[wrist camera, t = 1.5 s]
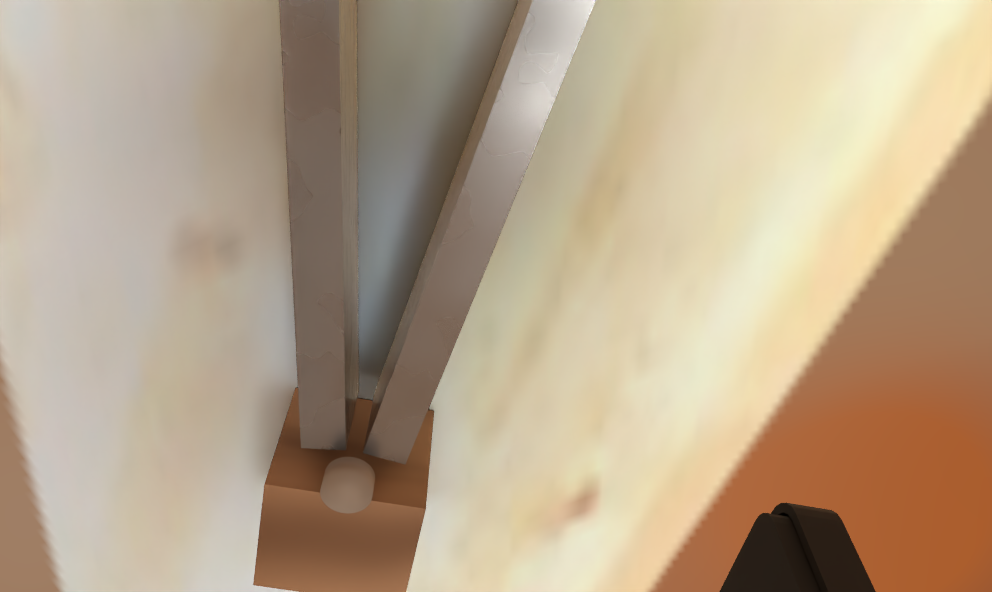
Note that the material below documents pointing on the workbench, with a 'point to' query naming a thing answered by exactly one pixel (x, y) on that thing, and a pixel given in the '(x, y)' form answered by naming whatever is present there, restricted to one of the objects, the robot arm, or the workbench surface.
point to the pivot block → (341, 512)
